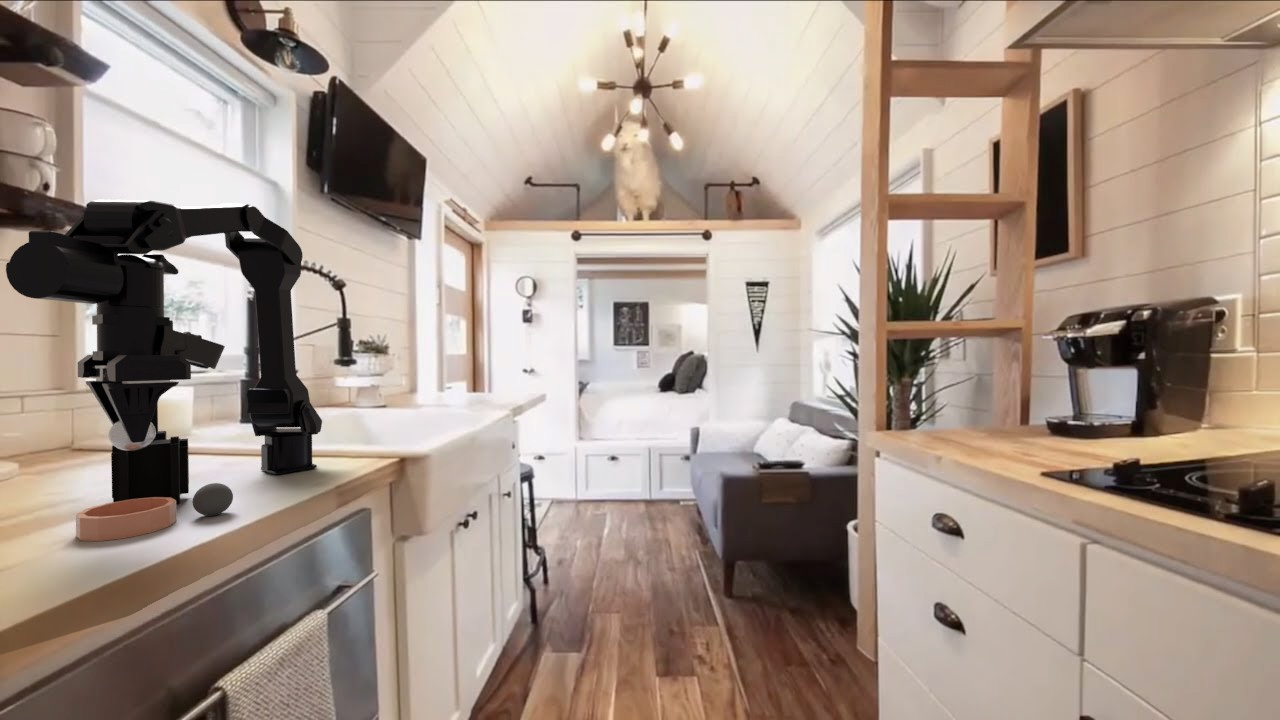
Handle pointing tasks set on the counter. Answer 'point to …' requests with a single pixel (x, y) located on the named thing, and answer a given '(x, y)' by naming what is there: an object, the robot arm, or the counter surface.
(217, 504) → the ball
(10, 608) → the counter surface
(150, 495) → the toy
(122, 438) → the steel ball
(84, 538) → the dish
